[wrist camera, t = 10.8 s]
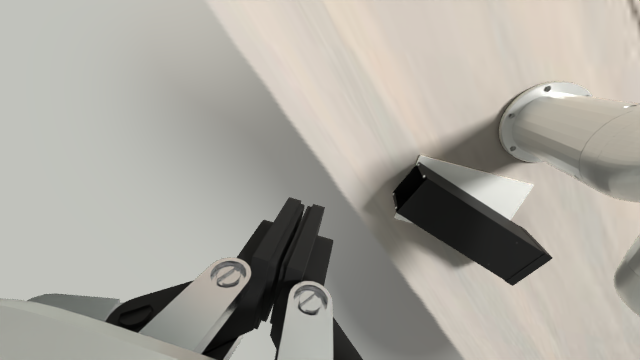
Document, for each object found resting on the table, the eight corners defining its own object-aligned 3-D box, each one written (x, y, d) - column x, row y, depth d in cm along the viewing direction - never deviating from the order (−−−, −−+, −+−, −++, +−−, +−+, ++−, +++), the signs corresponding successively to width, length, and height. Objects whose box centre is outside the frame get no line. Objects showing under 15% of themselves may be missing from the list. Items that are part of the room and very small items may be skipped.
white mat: (532, 184, 45) (533, 185, 44) (492, 244, 51) (493, 246, 50) (419, 154, 46) (420, 155, 46) (394, 217, 52) (394, 218, 52)
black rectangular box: (418, 160, 46) (539, 238, 48) (391, 192, 50) (505, 264, 51) (427, 177, 39) (569, 268, 41) (395, 213, 42) (527, 295, 44)
